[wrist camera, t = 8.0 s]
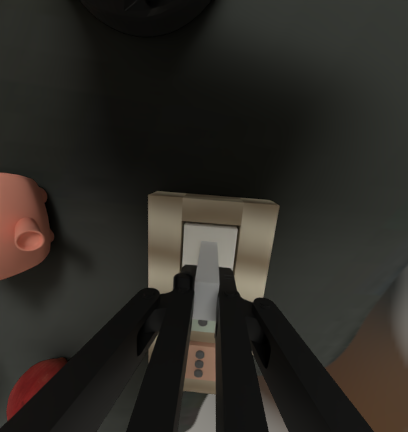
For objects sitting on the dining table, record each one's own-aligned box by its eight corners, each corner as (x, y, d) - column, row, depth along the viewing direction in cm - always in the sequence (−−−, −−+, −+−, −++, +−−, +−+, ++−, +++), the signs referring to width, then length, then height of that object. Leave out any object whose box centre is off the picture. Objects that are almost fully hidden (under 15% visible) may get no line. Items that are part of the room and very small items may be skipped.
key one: (188, 216, 21) (183, 225, 18) (234, 220, 20) (238, 230, 17) (186, 258, 22) (181, 273, 19) (229, 262, 22) (232, 278, 19)
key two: (185, 273, 22) (180, 291, 19) (227, 277, 22) (229, 295, 19) (183, 309, 24) (178, 330, 21) (223, 313, 24) (224, 335, 20)
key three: (182, 322, 24) (178, 345, 21) (221, 326, 24) (223, 350, 21) (181, 353, 25) (176, 379, 22) (218, 357, 25) (218, 383, 22)
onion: (92, 360, 27) (43, 438, 19) (70, 380, 28) (16, 462, 20) (58, 336, 26) (-7, 407, 18) (37, 358, 27) (-33, 434, 20)
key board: (157, 190, 20) (148, 195, 17) (269, 199, 20) (279, 205, 17) (155, 362, 26) (148, 386, 24) (242, 372, 26) (245, 397, 23)
